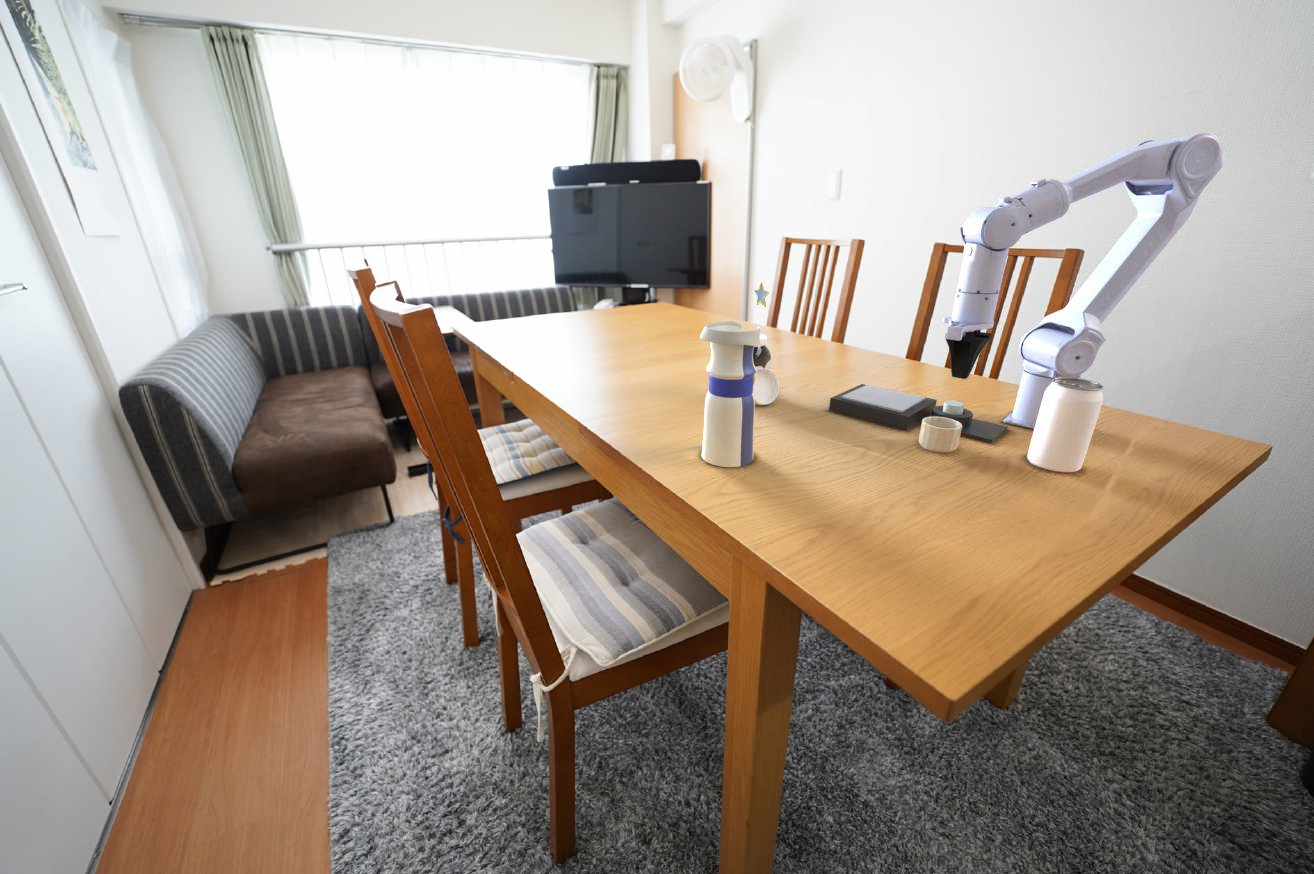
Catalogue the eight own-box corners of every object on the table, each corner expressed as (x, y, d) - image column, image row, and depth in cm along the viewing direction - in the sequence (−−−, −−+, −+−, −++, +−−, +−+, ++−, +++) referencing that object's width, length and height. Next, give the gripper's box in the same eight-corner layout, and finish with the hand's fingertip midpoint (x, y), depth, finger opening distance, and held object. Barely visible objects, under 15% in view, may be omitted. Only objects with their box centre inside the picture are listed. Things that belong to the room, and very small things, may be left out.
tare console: (1006, 430, 89) (1010, 416, 88) (991, 444, 84) (994, 429, 83) (940, 415, 96) (943, 401, 95) (922, 426, 91) (925, 412, 90)
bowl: (962, 446, 83) (967, 422, 82) (949, 457, 80) (954, 432, 78) (925, 437, 87) (930, 413, 85) (911, 447, 83) (916, 422, 82)
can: (1064, 478, 73) (1090, 393, 69) (1016, 460, 78) (1037, 380, 74) (1090, 468, 76) (1117, 386, 71) (1042, 451, 81) (1064, 374, 77)
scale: (934, 413, 97) (937, 397, 96) (906, 431, 89) (909, 414, 88) (860, 396, 106) (862, 381, 105) (828, 411, 98) (830, 395, 97)
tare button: (965, 412, 91) (967, 403, 90) (958, 417, 89) (960, 407, 88) (946, 408, 93) (948, 399, 92) (939, 413, 91) (941, 403, 90)
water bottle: (721, 440, 87) (728, 277, 77) (766, 455, 81) (779, 282, 71) (687, 455, 81) (689, 283, 72) (732, 472, 76) (741, 288, 66)
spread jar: (740, 384, 114) (742, 329, 110) (791, 394, 108) (796, 336, 103) (711, 400, 105) (712, 340, 101) (764, 411, 99) (769, 348, 94)
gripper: (966, 285, 91) (950, 364, 96) (932, 294, 81) (916, 381, 86) (1014, 288, 86) (994, 371, 91) (984, 298, 77) (964, 390, 82)
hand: (959, 377), depth 88 cm, fingers closed
